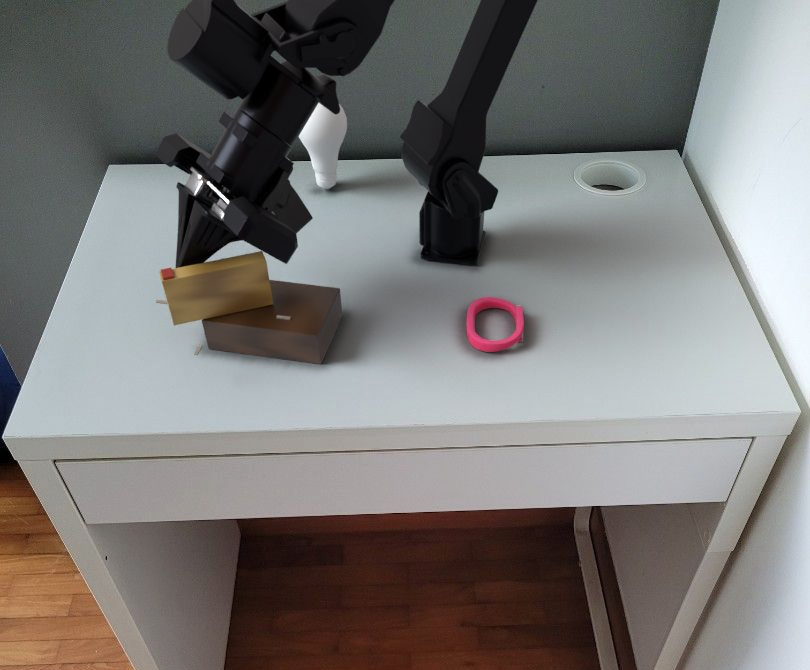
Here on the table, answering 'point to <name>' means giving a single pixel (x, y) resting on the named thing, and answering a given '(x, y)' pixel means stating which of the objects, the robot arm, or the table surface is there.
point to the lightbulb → (324, 143)
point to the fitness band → (488, 344)
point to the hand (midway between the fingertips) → (180, 273)
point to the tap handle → (217, 287)
